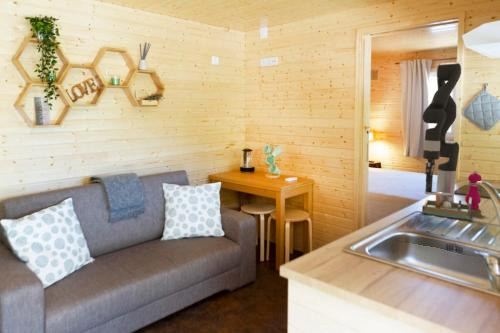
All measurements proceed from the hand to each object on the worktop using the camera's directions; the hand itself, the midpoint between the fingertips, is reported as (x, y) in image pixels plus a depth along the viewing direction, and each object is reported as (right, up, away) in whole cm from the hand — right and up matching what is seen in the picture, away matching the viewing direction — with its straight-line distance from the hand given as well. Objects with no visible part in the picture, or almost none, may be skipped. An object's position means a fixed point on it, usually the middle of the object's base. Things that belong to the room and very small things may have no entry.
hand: (429, 181), depth 209 cm
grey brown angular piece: (+4, -13, 0) cm, 14 cm away
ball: (+8, -12, -2) cm, 15 cm away
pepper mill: (+25, -14, +7) cm, 30 cm away
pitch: (+8, -16, -2) cm, 18 cm away
